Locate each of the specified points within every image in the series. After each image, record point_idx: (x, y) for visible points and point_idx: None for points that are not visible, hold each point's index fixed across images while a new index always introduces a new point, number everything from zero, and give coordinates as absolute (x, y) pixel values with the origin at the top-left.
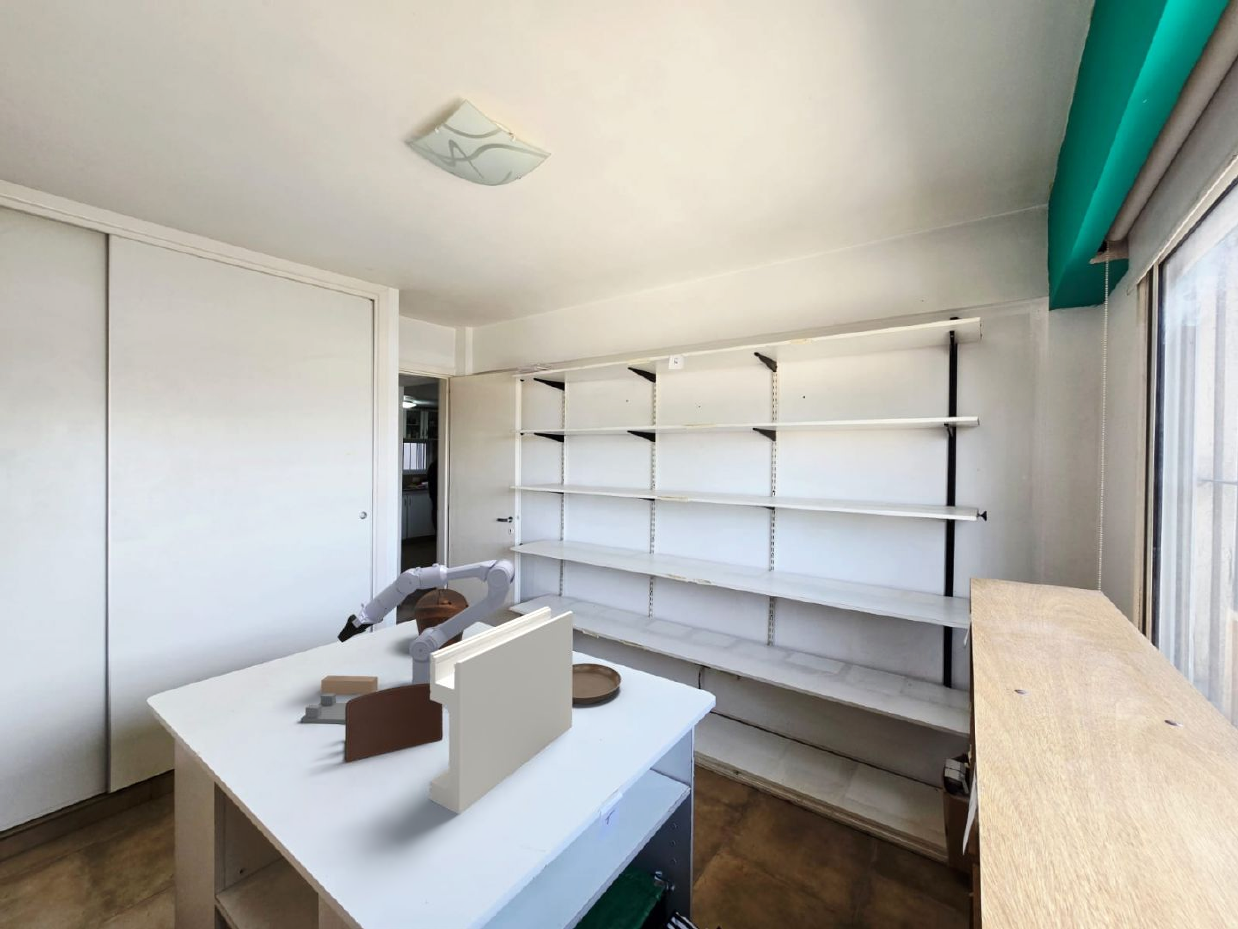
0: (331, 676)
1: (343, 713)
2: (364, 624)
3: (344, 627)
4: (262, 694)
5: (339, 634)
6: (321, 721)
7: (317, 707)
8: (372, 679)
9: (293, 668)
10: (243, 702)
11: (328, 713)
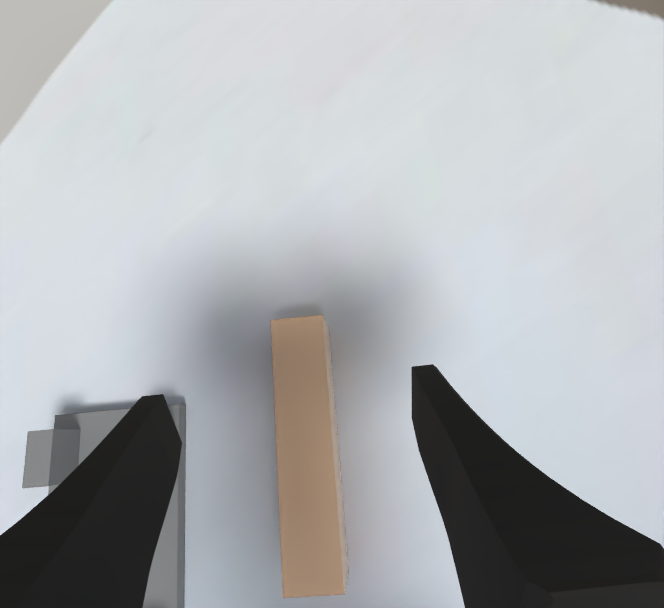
0: (314, 338)
1: None
2: (447, 501)
3: (41, 502)
4: (258, 132)
5: (122, 420)
6: None
7: (26, 484)
8: (306, 584)
9: (474, 73)
10: (200, 120)
11: None
